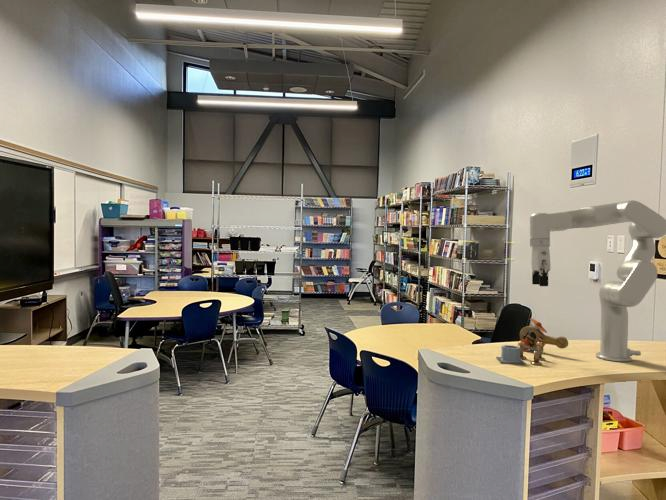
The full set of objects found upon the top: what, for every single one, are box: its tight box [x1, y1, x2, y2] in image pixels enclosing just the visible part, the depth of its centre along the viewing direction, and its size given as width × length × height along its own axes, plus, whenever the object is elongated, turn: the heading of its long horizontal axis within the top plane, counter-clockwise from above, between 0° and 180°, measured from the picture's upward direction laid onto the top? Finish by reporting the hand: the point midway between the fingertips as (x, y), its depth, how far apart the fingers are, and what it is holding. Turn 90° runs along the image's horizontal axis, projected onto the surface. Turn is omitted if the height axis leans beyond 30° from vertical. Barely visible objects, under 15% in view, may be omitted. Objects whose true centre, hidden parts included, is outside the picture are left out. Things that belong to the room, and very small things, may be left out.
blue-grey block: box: [500, 344, 520, 362], centre depth 182 cm, size 6×6×5 cm
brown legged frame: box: [517, 340, 545, 366], centre depth 184 cm, size 11×13×7 cm
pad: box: [495, 356, 527, 366], centre depth 182 cm, size 9×9×1 cm
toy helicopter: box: [517, 318, 569, 353], centre depth 200 cm, size 8×21×14 cm, turn 37°
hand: (540, 285), depth 191 cm, fingers open, 9 cm apart
